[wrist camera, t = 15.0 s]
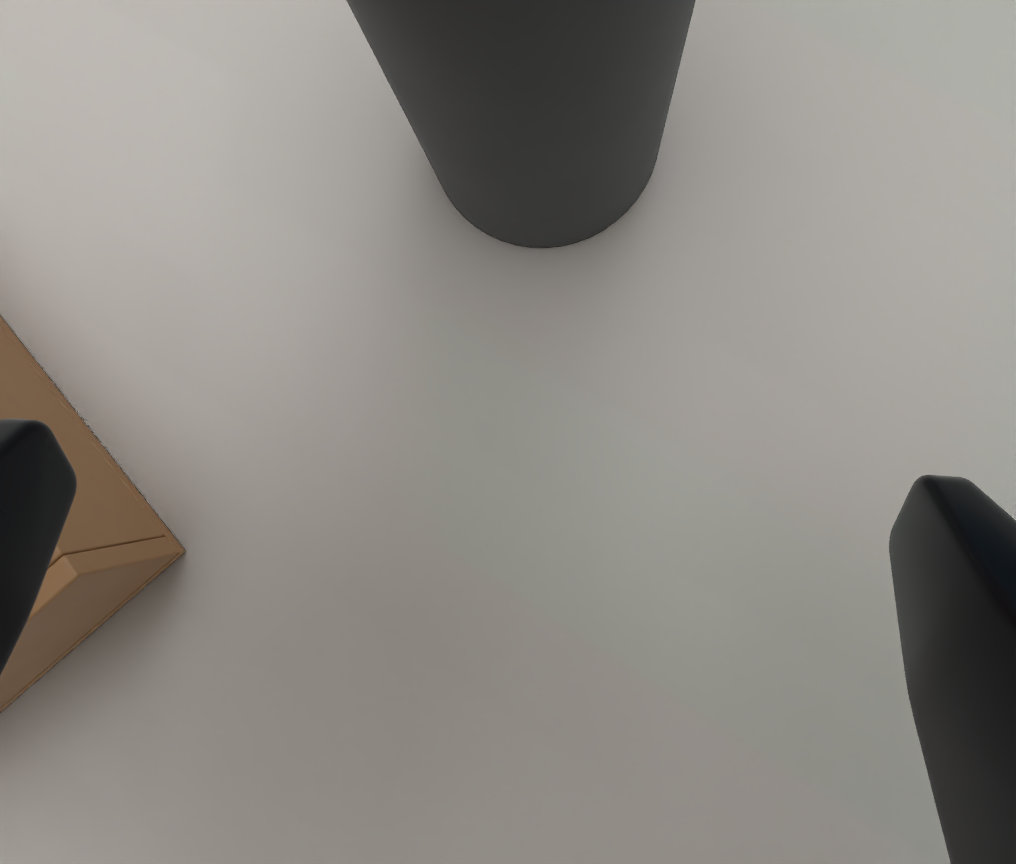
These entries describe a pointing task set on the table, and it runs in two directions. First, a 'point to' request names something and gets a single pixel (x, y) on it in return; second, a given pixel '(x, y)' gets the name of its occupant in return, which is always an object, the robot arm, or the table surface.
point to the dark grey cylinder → (533, 103)
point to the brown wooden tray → (78, 530)
